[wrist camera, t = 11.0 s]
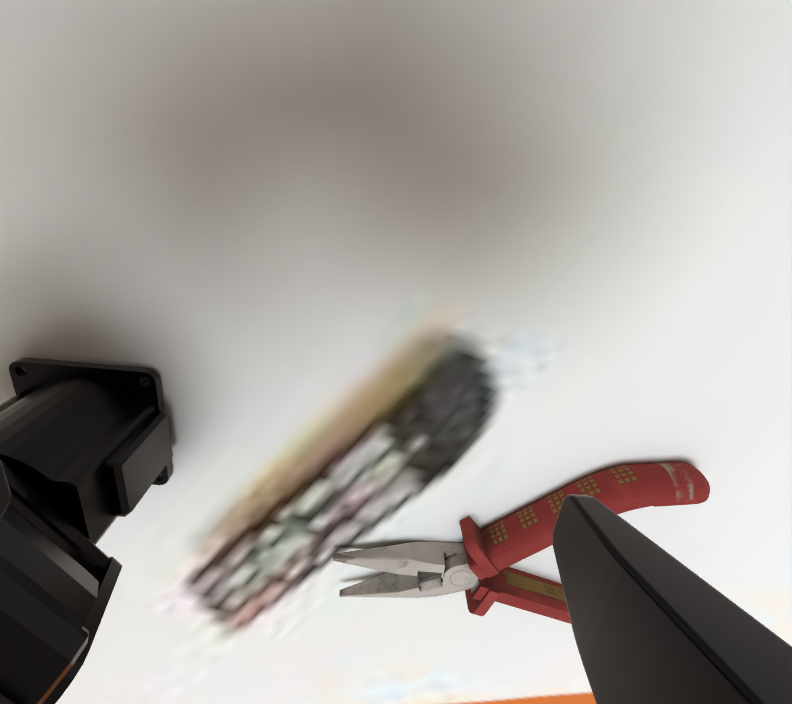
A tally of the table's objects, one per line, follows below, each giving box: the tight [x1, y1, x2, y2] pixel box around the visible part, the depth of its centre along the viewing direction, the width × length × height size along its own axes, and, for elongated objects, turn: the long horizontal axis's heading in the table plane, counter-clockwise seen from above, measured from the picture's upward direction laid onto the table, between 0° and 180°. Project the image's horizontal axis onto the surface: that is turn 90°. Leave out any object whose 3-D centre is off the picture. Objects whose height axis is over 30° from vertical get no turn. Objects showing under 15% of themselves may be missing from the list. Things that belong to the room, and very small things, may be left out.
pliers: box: [333, 462, 710, 624], centre depth 25 cm, size 12×20×3 cm, turn 96°
